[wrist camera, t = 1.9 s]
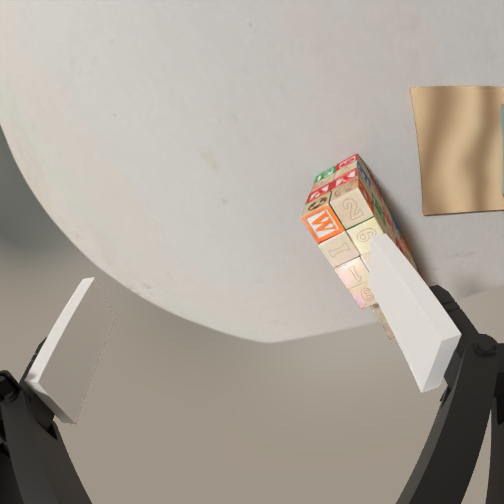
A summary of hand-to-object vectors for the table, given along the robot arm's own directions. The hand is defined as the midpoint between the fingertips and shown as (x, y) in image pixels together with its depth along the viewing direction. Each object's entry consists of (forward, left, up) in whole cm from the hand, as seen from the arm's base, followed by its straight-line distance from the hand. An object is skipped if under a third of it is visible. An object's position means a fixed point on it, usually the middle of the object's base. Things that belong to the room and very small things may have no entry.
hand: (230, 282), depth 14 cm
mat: (-14, +18, -27) cm, 35 cm away
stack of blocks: (+5, +14, -28) cm, 31 cm away
